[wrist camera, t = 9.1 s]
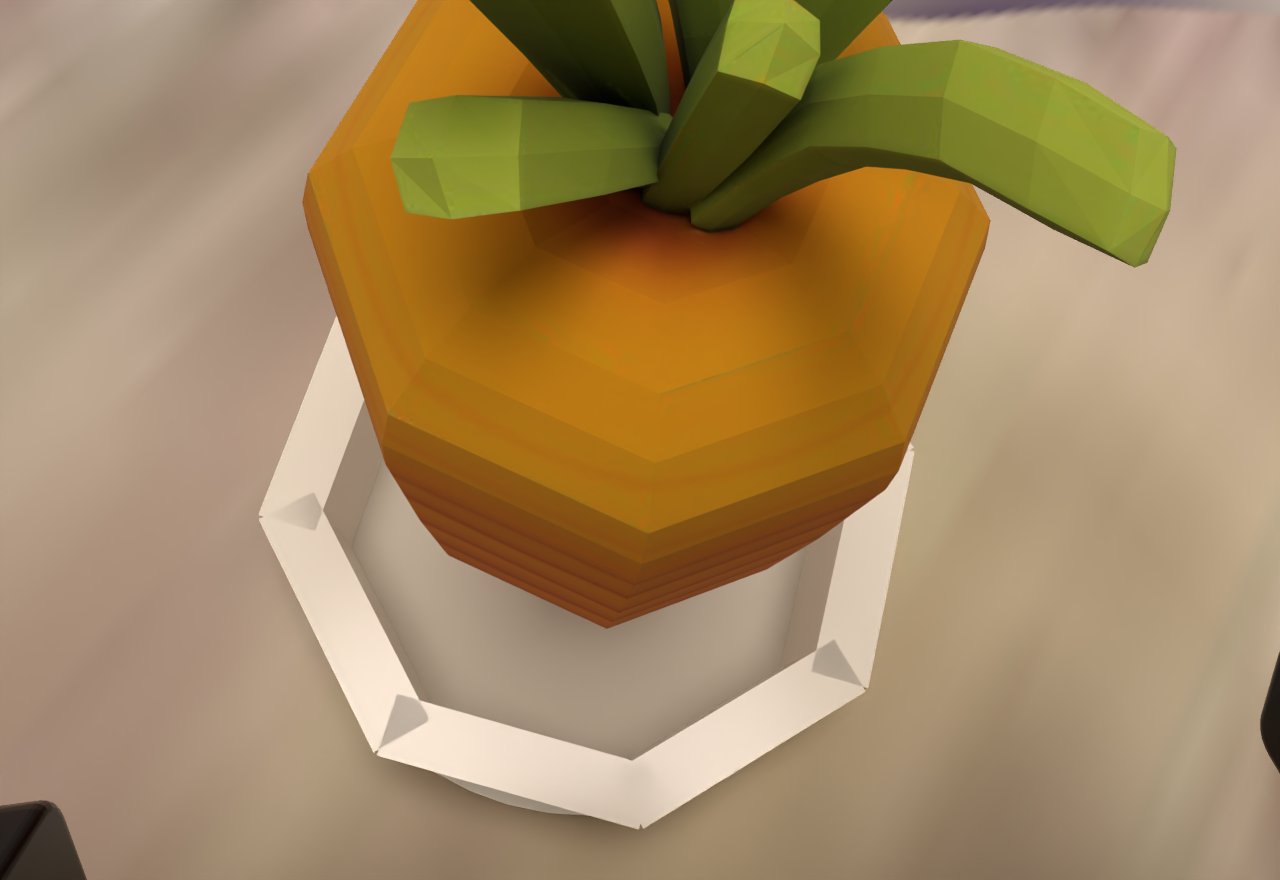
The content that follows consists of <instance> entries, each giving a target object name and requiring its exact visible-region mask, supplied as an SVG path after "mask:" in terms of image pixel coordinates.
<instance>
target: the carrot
mask: <svg viewBox="0 0 1280 880" xmlns="http://www.w3.org/2000/svg"><path fill="white" fill-rule="evenodd" d="M891 1H892V0H418V1H417V2H416V4H415V6H414V7H413V9H412V10H411V12H410V14H409V15H408V17H407V18H406V20H405V21H404V23H403V25H402V26H401V28H400V29H399V31H398V32H397V34H396V36H395V37H394V39H393V40H392V42H391V44H390V45H389V47H388V48H387V50H386V51H385V53H384V55H383V56H382V58H381V59H380V61H379V62H378V64H377V66H376V67H375V69H374V70H373V72H372V73H371V75H370V77H369V78H368V80H367V81H366V83H365V85H364V86H363V88H362V89H361V91H360V92H359V94H358V96H357V97H356V99H355V100H354V102H353V103H352V105H351V107H350V108H349V110H348V111H347V113H346V115H345V116H344V118H343V119H342V121H341V122H340V124H339V126H338V127H337V129H336V130H335V132H334V133H333V135H332V137H331V138H330V140H329V141H328V143H327V145H326V146H325V148H324V149H323V151H322V152H321V154H320V156H319V157H318V159H317V160H316V162H315V163H314V165H313V167H312V168H311V170H310V171H309V173H308V176H307V181H306V187H305V192H304V197H303V207H304V211H305V216H306V221H307V225H308V230H309V233H310V236H311V239H312V242H313V245H314V248H315V251H316V254H317V257H318V260H319V263H320V266H321V269H322V272H323V275H324V278H325V281H326V284H327V287H328V291H329V294H330V297H331V300H332V303H333V306H334V309H335V312H336V315H337V318H338V321H339V324H340V327H341V330H342V333H343V336H344V339H345V342H346V345H347V348H348V351H349V355H350V358H351V361H352V364H353V367H354V370H355V373H356V376H357V379H358V382H359V385H360V388H361V391H362V394H363V397H364V400H365V403H366V406H367V409H368V412H369V416H370V419H371V422H372V425H373V428H374V431H375V434H376V437H377V440H378V443H379V446H380V449H381V452H382V455H383V458H384V461H385V464H386V466H387V468H388V469H389V471H390V473H391V474H392V476H393V478H394V479H395V481H396V482H397V484H398V486H399V487H400V489H401V490H402V492H403V494H404V495H405V497H406V499H407V500H408V502H409V503H410V505H411V507H412V508H413V510H414V512H415V513H416V515H417V516H418V518H419V520H420V521H421V522H422V524H423V525H424V526H425V527H426V529H427V530H428V531H429V532H430V534H431V535H432V536H433V537H434V538H435V540H436V541H437V542H438V543H439V545H440V546H441V547H442V548H443V550H444V551H445V552H446V553H447V554H448V555H449V556H451V557H453V558H455V559H457V560H459V561H462V562H464V563H466V564H468V565H470V566H472V567H474V568H477V569H479V570H481V571H483V572H485V573H487V574H490V575H492V576H494V577H496V578H498V579H500V580H502V581H505V582H507V583H509V584H511V585H513V586H515V587H518V588H520V589H522V590H524V591H526V592H528V593H530V594H533V595H535V596H537V597H539V598H541V599H543V600H546V601H548V602H550V603H552V604H554V605H556V606H559V607H561V608H563V609H565V610H567V611H569V612H571V613H574V614H576V615H578V616H580V617H582V618H584V619H587V620H589V621H591V622H593V623H595V624H597V625H599V626H602V627H604V628H606V629H608V628H611V627H613V626H616V625H619V624H622V623H624V622H627V621H630V620H632V619H635V618H638V617H640V616H643V615H646V614H648V613H651V612H654V611H656V610H659V609H662V608H665V607H667V606H670V605H673V604H675V603H678V602H681V601H683V600H686V599H689V598H691V597H694V596H697V595H699V594H702V593H705V592H708V591H710V590H713V589H716V588H718V587H721V586H724V585H726V584H729V583H732V582H734V581H737V580H740V579H742V578H745V577H748V576H751V575H753V574H756V573H759V572H761V571H764V570H767V569H769V568H770V567H772V566H774V565H775V564H777V563H779V562H780V561H782V560H784V559H785V558H787V557H789V556H790V555H792V554H794V553H795V552H797V551H799V550H801V549H802V548H804V547H806V546H807V545H809V544H811V543H812V542H814V541H816V540H817V539H819V538H820V537H821V536H823V535H824V534H826V533H827V532H828V531H830V530H831V529H832V528H834V527H835V526H837V525H838V524H839V523H841V522H842V521H843V520H845V519H846V518H848V517H849V516H850V515H852V514H853V513H854V512H856V511H857V510H859V509H860V508H861V507H863V506H864V505H865V504H867V503H868V502H869V501H871V500H872V499H874V498H875V497H876V496H878V495H879V494H880V493H882V492H883V491H885V490H886V489H887V487H888V486H889V484H890V483H891V481H892V480H893V479H894V477H895V476H896V474H897V473H898V471H899V469H900V467H901V464H902V462H903V459H904V456H905V454H906V451H907V449H908V446H909V443H910V441H911V438H912V436H913V433H914V430H915V428H916V425H917V423H918V420H919V417H920V415H921V412H922V410H923V407H924V404H925V402H926V399H927V397H928V394H929V391H930V389H931V386H932V384H933V381H934V379H935V376H936V373H937V371H938V368H939V366H940V363H941V360H942V358H943V355H944V353H945V350H946V347H947V345H948V342H949V340H950V337H951V334H952V332H953V329H954V327H955V324H956V321H957V319H958V316H959V314H960V311H961V308H962V306H963V303H964V301H965V298H966V295H967V293H968V290H969V288H970V285H971V283H972V280H973V277H974V275H975V272H976V270H977V267H978V264H979V262H980V259H981V257H982V254H983V251H984V249H985V245H986V240H987V235H988V230H989V225H990V219H989V217H988V215H987V213H986V211H985V209H984V207H983V205H982V203H981V201H980V199H979V197H978V195H977V193H976V191H975V189H974V187H973V185H975V186H976V187H978V188H980V189H982V190H984V191H985V192H987V193H989V194H991V195H993V196H994V197H996V198H998V199H1000V200H1002V201H1003V202H1005V203H1007V204H1009V205H1011V206H1012V207H1014V208H1016V209H1018V210H1019V211H1021V212H1023V213H1025V214H1027V215H1028V216H1030V217H1032V218H1034V219H1036V220H1037V221H1039V222H1041V223H1043V224H1045V225H1046V226H1048V227H1050V228H1052V229H1054V230H1056V231H1058V232H1060V233H1062V234H1064V235H1066V236H1069V237H1071V238H1073V239H1075V240H1077V241H1079V242H1081V243H1084V244H1086V245H1088V246H1090V247H1092V248H1094V249H1096V250H1098V251H1101V252H1103V253H1105V254H1107V255H1109V256H1111V257H1113V258H1116V259H1118V260H1120V261H1122V262H1124V263H1126V264H1128V265H1130V266H1133V267H1137V266H1140V265H1142V264H1145V263H1147V262H1148V259H1149V257H1150V255H1151V253H1152V250H1153V248H1154V246H1155V244H1156V241H1157V239H1158V237H1159V234H1160V232H1161V230H1162V228H1163V225H1164V223H1165V221H1166V219H1167V216H1168V214H1169V212H1170V206H1171V196H1172V186H1173V176H1174V167H1175V157H1176V147H1175V146H1174V144H1173V143H1172V142H1171V140H1170V139H1169V137H1168V136H1166V135H1165V134H1163V133H1162V132H1160V131H1159V130H1157V129H1156V128H1154V127H1153V126H1151V125H1150V124H1148V123H1146V122H1145V121H1143V120H1142V119H1140V118H1139V117H1137V116H1136V115H1134V114H1133V113H1131V112H1130V111H1128V110H1127V109H1125V108H1124V107H1122V106H1120V105H1119V104H1117V103H1116V102H1114V101H1113V100H1111V99H1110V98H1108V97H1107V96H1105V95H1104V94H1102V93H1101V92H1099V91H1098V90H1096V89H1094V88H1093V87H1091V86H1090V85H1088V84H1087V83H1085V82H1082V81H1080V80H1077V79H1075V78H1072V77H1069V76H1067V75H1064V74H1062V73H1059V72H1057V71H1054V70H1052V69H1049V68H1047V67H1044V66H1041V65H1039V64H1036V63H1034V62H1031V61H1029V60H1026V59H1024V58H1021V57H1019V56H1016V55H1013V54H1011V53H1008V52H1006V51H1003V50H1001V49H998V48H995V47H991V46H986V45H982V44H977V43H973V42H968V41H964V40H952V41H940V42H929V43H917V44H906V45H901V44H900V42H899V40H898V38H897V36H896V34H895V32H894V31H893V29H892V27H891V25H890V23H889V21H888V19H887V17H886V15H885V14H884V13H882V12H881V11H882V10H883V9H884V8H885V7H886V6H887V5H888V4H889V3H890V2H891ZM972 184H973V185H972Z"/></svg>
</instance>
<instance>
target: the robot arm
mask: <svg viewBox="0 0 1280 880" xmlns="http://www.w3.org/2000/svg"><path fill="white" fill-rule="evenodd" d="M1260 730H1261V736H1262V740H1263V743H1264V745H1265V748H1266V750H1267V752H1268V754H1269V756H1270V758H1271V759H1272V761H1273V763H1274V765H1275V766H1276V768H1277V770H1278V771H1279V773H1280V652H1279V655H1278V658H1277V662H1276V665H1275V669H1274V672H1273V676H1272V679H1271V683H1270V686H1269V690H1268V693H1267V696H1266V700H1265V703H1264V707H1263V710H1262V714H1261V719H1260ZM0 880H87V879H86V876H85V873H84V870H83V868H82V865H81V862H80V860H79V857H78V854H77V851H76V849H75V846H74V843H73V840H72V838H71V835H70V832H69V830H68V827H67V824H66V821H65V819H64V816H63V814H62V813H61V811H60V809H59V808H58V807H57V806H56V805H55V804H54V803H52V802H49V801H42V800H41V801H33V802H25V803H18V804H10V805H2V806H0Z"/></svg>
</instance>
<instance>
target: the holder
mask: <svg viewBox="0 0 1280 880" xmlns="http://www.w3.org/2000/svg"><path fill="white" fill-rule="evenodd" d="M912 449H913V446H912V445H911V443H909V446H908V449H907V451H906V454H905V456H904V459H903V462H902V464H901V467H900V469H899V471H898V473H897V474H896V476H895V477H894V479H893V480H892V481H891V483H890V484H889V486H888V487H887V489H886V490H885V491H883V492H882V493H880V494H879V495H878V496H876V497H875V498H874V499H872V500H871V501H869V502H868V503H867V504H865V505H864V506H863V507H861V508H860V509H859V510H857V511H856V512H854V513H853V514H852V515H850V516H849V517H848V518H846V519H845V520H843V521H842V522H841V523H839V524H838V525H837V526H835V527H834V528H832V529H831V530H830V531H828V532H827V533H826V534H824V535H823V536H821V537H820V538H819V539H817V540H816V541H814V542H812V543H811V544H809V545H807V546H806V547H804V548H802V549H801V550H799V551H797V552H795V553H794V554H792V555H790V556H789V557H787V558H785V559H784V560H782V561H780V562H779V563H777V564H775V565H774V566H772V567H770V568H769V569H767V570H764V571H761V572H759V573H756V574H753V575H751V576H748V577H745V578H742V579H740V580H737V581H734V582H732V583H729V584H726V585H724V586H721V587H718V588H716V589H713V590H710V591H708V592H705V593H702V594H699V595H697V596H694V597H691V598H689V599H686V600H683V601H681V602H678V603H675V604H673V605H670V606H667V607H665V608H662V609H659V610H656V611H654V612H651V613H648V614H646V615H643V616H640V617H638V618H635V619H632V620H630V621H627V622H624V623H622V624H619V625H616V626H613V627H611V628H608V629H606V628H604V627H602V626H599V625H597V624H595V623H593V622H591V621H589V620H587V619H584V618H582V617H580V616H578V615H576V614H574V613H571V612H569V611H567V610H565V609H563V608H561V607H559V606H556V605H554V604H552V603H550V602H548V601H546V600H543V599H541V598H539V597H537V596H535V595H533V594H530V593H528V592H526V591H524V590H522V589H520V588H518V587H515V586H513V585H511V584H509V583H507V582H505V581H502V580H500V579H498V578H496V577H494V576H492V575H490V574H487V573H485V572H483V571H481V570H479V569H477V568H474V567H472V566H470V565H468V564H466V563H464V562H462V561H459V560H457V559H455V558H453V557H451V556H449V555H448V554H447V553H446V552H445V551H444V550H443V548H442V547H441V546H440V545H439V543H438V542H437V541H436V540H435V538H434V537H433V536H432V535H431V534H430V532H429V531H428V530H427V529H426V527H425V526H424V525H423V524H422V522H421V521H420V520H419V518H418V516H417V515H416V513H415V512H414V510H413V508H412V507H411V505H410V503H409V502H408V500H407V499H406V497H405V495H404V494H403V492H402V490H401V489H400V487H399V486H398V484H397V482H396V481H395V479H394V478H393V476H392V474H391V473H390V471H389V469H388V468H387V466H386V464H385V461H384V458H383V455H382V452H381V449H380V446H379V443H378V440H377V437H376V434H375V431H374V428H373V425H372V422H371V419H370V416H369V412H368V409H367V406H366V403H365V400H364V397H363V394H362V391H361V388H360V385H359V382H358V379H357V376H356V373H355V370H354V367H353V364H352V361H351V358H350V355H349V351H348V348H347V345H346V342H345V339H344V336H343V333H342V330H341V327H340V324H339V321H338V318H337V316H336V318H335V321H334V323H333V326H332V329H331V331H330V334H329V336H328V339H327V341H326V344H325V346H324V349H323V351H322V354H321V357H320V359H319V362H318V364H317V367H316V369H315V372H314V374H313V377H312V379H311V382H310V385H309V387H308V390H307V392H306V395H305V397H304V400H303V402H302V405H301V407H300V410H299V413H298V415H297V418H296V420H295V423H294V425H293V428H292V430H291V433H290V435H289V438H288V440H287V443H286V446H285V448H284V451H283V453H282V456H281V458H280V461H279V463H278V466H277V468H276V471H275V474H274V476H273V479H272V481H271V484H270V486H269V489H268V491H267V494H266V496H265V499H264V502H263V504H262V507H261V509H260V512H259V514H258V515H259V516H260V517H261V518H260V519H259V521H260V523H261V525H262V527H263V529H264V531H265V533H266V535H267V537H268V540H269V542H270V544H271V546H272V548H273V550H274V552H275V554H276V556H277V558H278V560H279V562H280V564H281V566H282V568H283V570H284V572H285V574H286V576H287V578H288V580H289V582H290V584H291V586H292V588H293V590H294V592H295V594H296V596H297V598H298V600H299V602H300V604H301V607H302V609H303V611H304V613H305V615H306V617H307V619H308V621H309V623H310V625H311V627H312V629H313V631H314V633H315V635H316V637H317V639H318V641H319V643H320V645H321V647H322V649H323V651H324V653H325V655H326V657H327V659H328V661H329V663H330V665H331V667H332V669H333V672H334V674H335V676H336V678H337V680H338V682H339V684H340V686H341V688H342V690H343V692H344V694H345V696H346V698H347V700H348V702H349V704H350V706H351V708H352V710H353V712H354V714H355V716H356V718H357V720H358V722H359V724H360V726H361V728H362V730H363V732H364V734H365V736H366V739H367V741H368V743H369V745H370V747H371V749H372V751H373V752H374V753H377V756H380V757H384V758H387V759H391V760H394V761H398V762H401V763H405V764H408V765H412V766H416V767H419V768H423V769H426V770H430V771H433V772H435V773H437V774H439V775H441V776H442V777H444V778H446V779H448V780H450V781H452V782H454V783H456V784H458V785H460V786H461V787H463V788H465V789H467V790H469V791H471V792H474V793H477V794H479V795H482V796H485V797H488V798H490V799H493V800H496V801H499V802H502V803H504V804H507V805H511V806H516V807H521V808H526V809H530V810H535V811H540V812H545V813H555V814H570V815H585V816H588V815H589V816H592V817H596V818H600V819H603V820H607V821H610V822H614V823H617V824H621V825H624V826H628V827H631V828H635V829H638V830H639V827H640V828H643V829H644V828H645V827H647V826H649V825H650V824H652V823H654V822H655V821H657V820H658V819H660V818H662V817H663V816H665V815H667V814H668V813H670V812H671V811H673V810H675V809H676V808H678V807H679V806H681V805H683V804H684V803H686V802H688V801H689V800H691V799H692V798H694V797H696V796H697V795H699V794H700V793H702V792H704V791H705V790H707V789H709V788H710V787H712V786H713V785H715V784H717V783H718V782H720V781H722V780H723V779H725V778H727V777H729V776H731V775H733V774H734V773H736V772H737V771H739V770H740V769H741V768H743V767H744V766H746V765H747V764H749V763H751V762H752V761H754V760H756V759H757V758H759V757H760V756H762V755H764V754H765V753H767V752H768V751H770V750H772V749H773V748H775V747H777V746H778V745H780V744H781V743H783V742H785V741H786V740H788V739H789V738H791V737H793V736H794V735H796V734H798V733H799V732H801V731H802V730H804V729H806V728H807V727H809V726H811V725H812V724H814V723H815V722H817V721H819V720H820V719H822V718H823V717H825V716H827V715H828V714H830V713H832V712H833V711H835V710H836V709H838V708H840V707H841V706H843V705H845V704H846V703H848V702H849V701H851V700H853V699H854V698H856V697H857V696H859V695H861V694H862V693H864V692H866V691H865V689H867V688H868V687H869V682H870V677H871V672H872V666H873V661H874V656H875V651H876V646H877V641H878V636H879V631H880V626H881V621H882V615H883V610H884V605H885V600H886V595H887V590H888V585H889V580H890V575H891V570H892V564H893V559H894V554H895V549H896V544H897V539H898V534H899V529H900V524H901V519H902V513H903V508H904V503H905V498H906V493H907V488H908V483H909V478H910V473H911V468H912V462H913V457H914V451H911V450H912Z"/></svg>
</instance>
